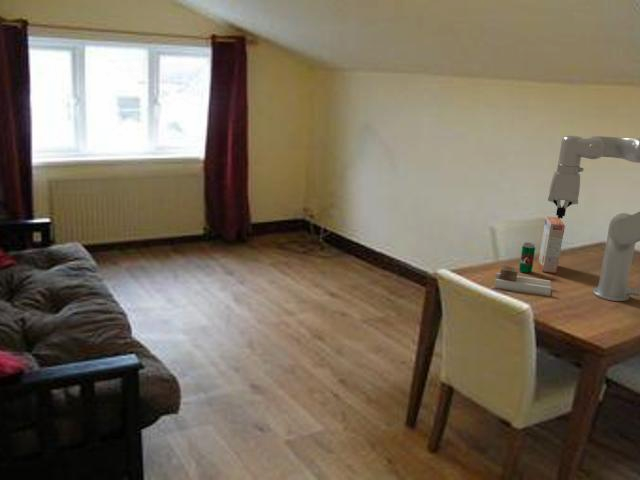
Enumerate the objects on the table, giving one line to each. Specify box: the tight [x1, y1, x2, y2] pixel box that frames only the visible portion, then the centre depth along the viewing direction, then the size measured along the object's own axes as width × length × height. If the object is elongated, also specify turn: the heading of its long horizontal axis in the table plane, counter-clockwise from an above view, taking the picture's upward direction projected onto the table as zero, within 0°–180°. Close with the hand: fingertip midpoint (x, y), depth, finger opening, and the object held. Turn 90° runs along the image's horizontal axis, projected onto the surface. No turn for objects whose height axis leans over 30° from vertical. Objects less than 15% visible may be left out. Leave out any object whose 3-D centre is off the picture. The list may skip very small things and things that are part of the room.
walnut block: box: [500, 265, 519, 282], centre depth 236 cm, size 6×6×6 cm
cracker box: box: [537, 216, 566, 274], centre depth 260 cm, size 14×6×21 cm, turn 168°
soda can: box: [518, 242, 536, 274], centre depth 254 cm, size 5×5×12 cm
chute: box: [494, 272, 552, 297], centre depth 236 cm, size 20×9×3 cm, turn 72°
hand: (560, 217), depth 234 cm, fingers closed
